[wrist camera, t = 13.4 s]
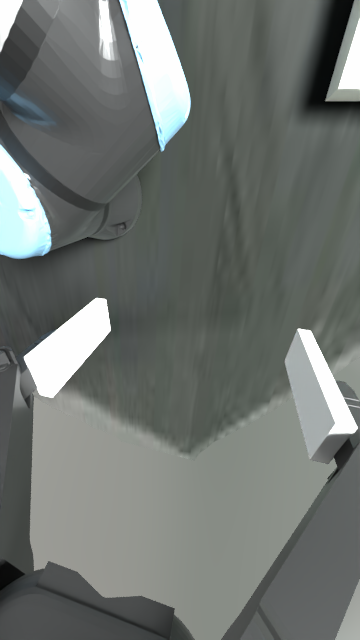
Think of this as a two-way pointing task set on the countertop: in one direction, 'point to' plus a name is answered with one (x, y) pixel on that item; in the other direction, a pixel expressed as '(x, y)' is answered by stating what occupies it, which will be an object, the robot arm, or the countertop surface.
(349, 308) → the countertop surface
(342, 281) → the countertop surface
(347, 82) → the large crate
